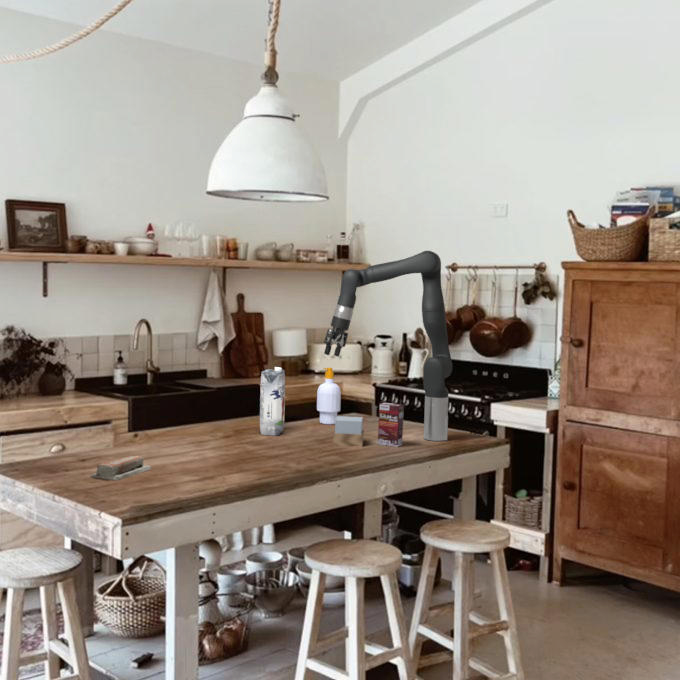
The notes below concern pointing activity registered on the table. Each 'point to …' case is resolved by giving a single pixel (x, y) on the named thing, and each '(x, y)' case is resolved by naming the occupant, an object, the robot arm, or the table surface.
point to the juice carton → (272, 401)
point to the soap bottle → (328, 399)
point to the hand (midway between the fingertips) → (331, 355)
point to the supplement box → (390, 424)
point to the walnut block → (348, 439)
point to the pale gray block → (348, 425)
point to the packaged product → (121, 468)
